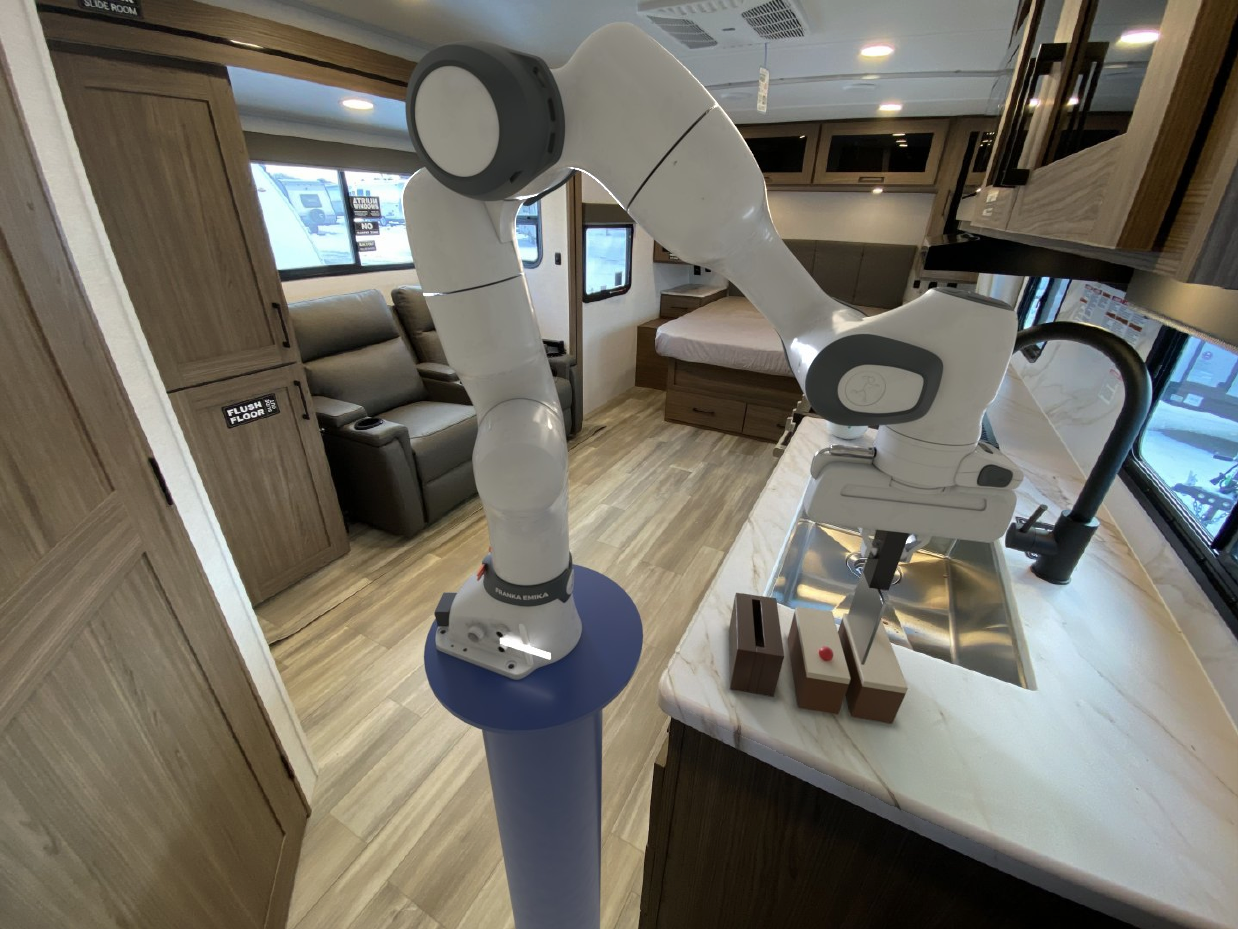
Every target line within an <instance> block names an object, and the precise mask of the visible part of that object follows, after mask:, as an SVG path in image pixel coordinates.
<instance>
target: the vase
mask: <svg viewBox="0 0 1238 929" xmlns="http://www.w3.org/2000/svg"><path fill="white" fill-rule="evenodd" d="M825 423H826V424H825V425H826V427H827V430H828V431H829V433H830V434H831V435H833V436H835V437H837V438H839V439H843V440H844V439H845V440H855V439H858V438H860V437H862V436H863V435H864V434H865V433H866V432H867V431H868V429H869V426H842V425H838V424H834V423H832V422H829V421H827V420H825Z"/></svg>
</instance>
